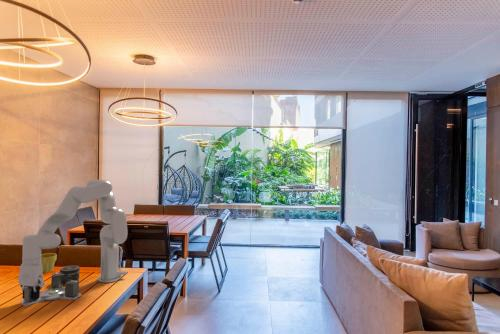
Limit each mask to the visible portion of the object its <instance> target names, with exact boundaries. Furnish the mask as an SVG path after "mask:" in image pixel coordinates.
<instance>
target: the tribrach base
mask: <svg viewBox="0 0 500 334" xmlns="http://www.w3.org/2000/svg"><path fill="white" fill-rule="evenodd" d="M81 295H83V294H82V293H80V292H79V293H78V294H77V295H75V296H73V297H71V296H65V287H64V284H62V286H61V287H58V288H51V287H50V288H49V289H46V290H43V291H40V297H39V298H38V299H37V300H34V301H31V302H27V301H24V299H23V300H21V301H20V304H21V305H22V306H23V307H27V306H30V305H34V304H37V303H40V302H45V301H46V302H48V301H49V302H50V301H51V302H52V301H56V300H57V301H58V300H60V299H61V300H71V299H73V301H75V300H77V299H78V297H79V298H80V297H82V296H81Z"/></svg>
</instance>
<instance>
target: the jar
mask: <svg viewBox="0 0 500 334" xmlns="http://www.w3.org/2000/svg"><path fill="white" fill-rule="evenodd" d="M80 269H81V268H80V266H79V265H67V266H63V267H60V269H59V273H62V284H63V285H65V283H67V282H69V281H70V280H76V281H80Z"/></svg>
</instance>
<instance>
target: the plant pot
mask: <svg viewBox="0 0 500 334" xmlns="http://www.w3.org/2000/svg"><path fill="white" fill-rule="evenodd" d="M57 256H58V255H57V253H53V252H52V253H51V252H50V253H49V252H48V253H43V254H42V253H41V263H42V269H43V273H46V274H47V273H50V272H52V271H53V270H54V268H55V267H54V266H55V264H56V261H57Z"/></svg>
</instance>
